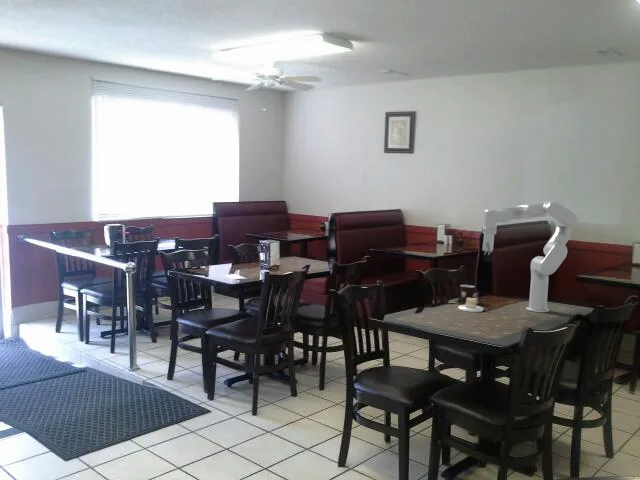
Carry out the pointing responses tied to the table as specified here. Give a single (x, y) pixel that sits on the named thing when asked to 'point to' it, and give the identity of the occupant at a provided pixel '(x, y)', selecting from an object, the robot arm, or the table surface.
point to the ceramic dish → (463, 308)
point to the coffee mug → (467, 292)
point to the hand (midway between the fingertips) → (487, 260)
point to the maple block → (471, 303)
